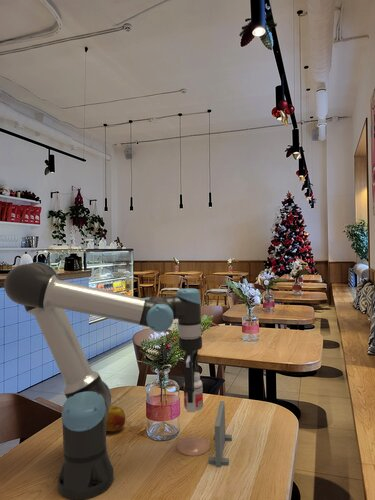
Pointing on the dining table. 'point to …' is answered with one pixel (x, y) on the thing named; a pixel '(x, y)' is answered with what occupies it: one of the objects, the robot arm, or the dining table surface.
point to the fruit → (115, 419)
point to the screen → (220, 438)
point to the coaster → (193, 446)
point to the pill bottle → (196, 392)
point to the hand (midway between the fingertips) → (193, 406)
